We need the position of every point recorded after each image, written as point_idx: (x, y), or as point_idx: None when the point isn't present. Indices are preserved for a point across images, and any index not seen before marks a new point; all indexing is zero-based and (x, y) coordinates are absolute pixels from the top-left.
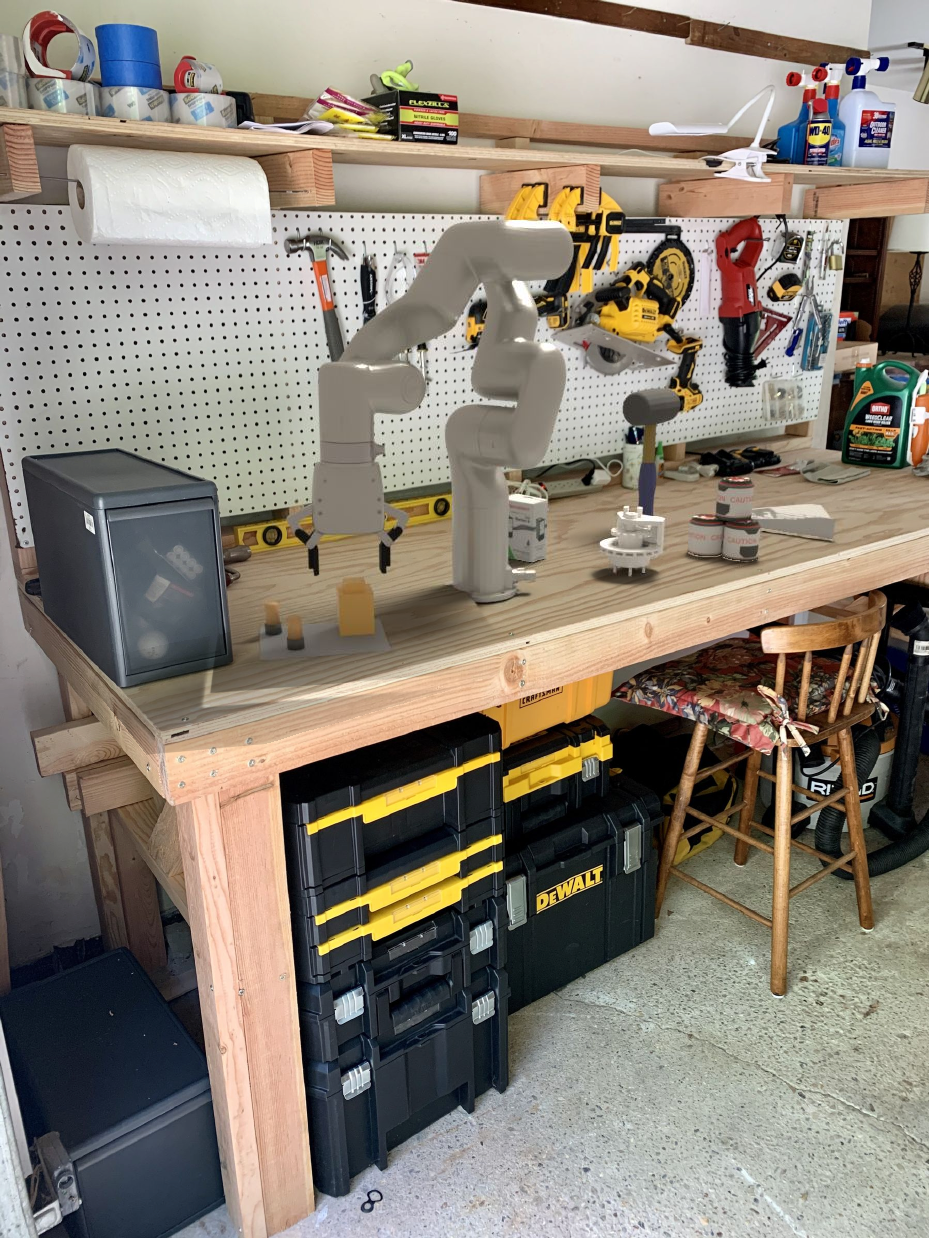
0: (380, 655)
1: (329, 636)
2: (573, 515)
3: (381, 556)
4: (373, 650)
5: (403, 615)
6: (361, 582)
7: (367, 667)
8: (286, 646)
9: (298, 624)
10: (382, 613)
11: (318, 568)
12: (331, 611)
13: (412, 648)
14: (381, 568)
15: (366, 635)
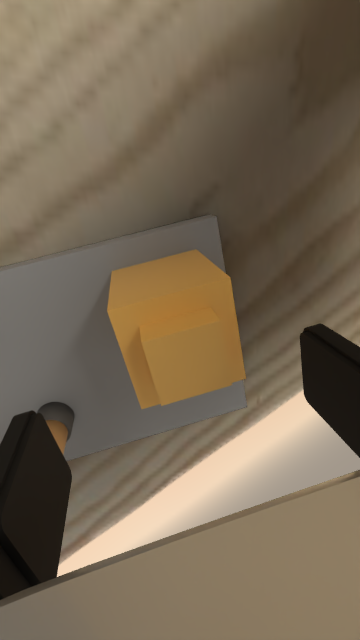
0: None
1: (110, 350)
2: None
3: (350, 446)
4: (214, 411)
5: (269, 88)
6: (219, 388)
7: (200, 423)
8: None
9: None
10: (207, 61)
11: (65, 499)
12: (29, 22)
13: (277, 335)
14: (315, 410)
15: None
